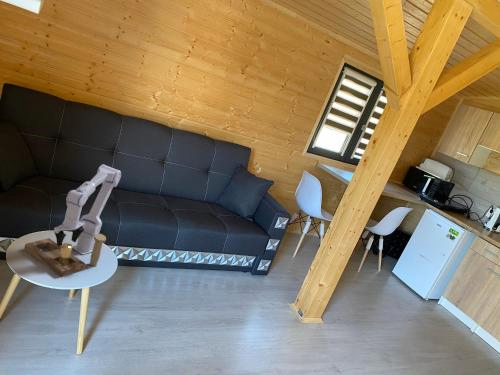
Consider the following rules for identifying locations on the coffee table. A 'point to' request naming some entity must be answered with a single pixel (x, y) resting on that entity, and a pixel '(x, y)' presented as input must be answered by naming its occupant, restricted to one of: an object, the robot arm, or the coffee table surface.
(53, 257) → the mount block
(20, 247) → the coffee table surface
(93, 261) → the handle
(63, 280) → the coffee table surface
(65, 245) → the peg
